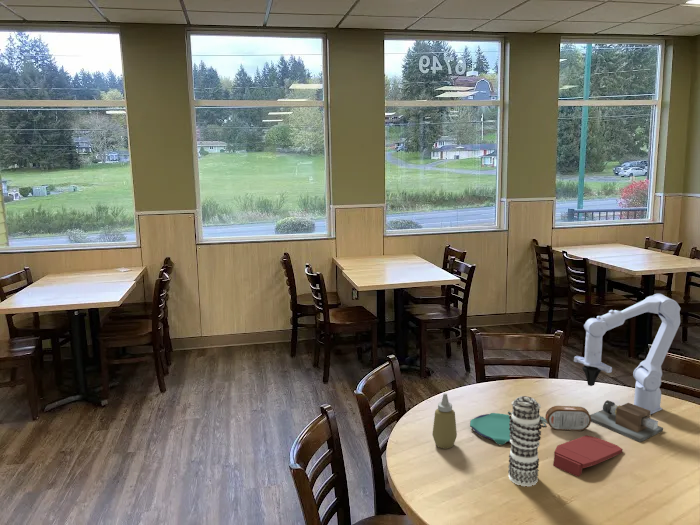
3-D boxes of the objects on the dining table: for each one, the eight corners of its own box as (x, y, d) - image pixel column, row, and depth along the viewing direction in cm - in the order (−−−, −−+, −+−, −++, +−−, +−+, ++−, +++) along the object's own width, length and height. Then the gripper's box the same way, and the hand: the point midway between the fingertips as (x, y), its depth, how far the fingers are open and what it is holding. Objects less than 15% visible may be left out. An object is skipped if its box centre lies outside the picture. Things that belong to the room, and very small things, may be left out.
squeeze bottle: (459, 441, 186) (460, 391, 183) (453, 452, 179) (454, 401, 175) (436, 436, 189) (436, 387, 186) (429, 448, 182) (429, 396, 179)
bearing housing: (609, 409, 207) (610, 391, 206) (662, 430, 191) (664, 411, 189) (586, 419, 200) (587, 400, 199) (639, 442, 183) (641, 422, 182)
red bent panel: (586, 448, 188) (547, 463, 172) (588, 434, 187) (549, 448, 171) (622, 462, 178) (584, 480, 162) (624, 448, 178) (586, 464, 162)
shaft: (609, 410, 202) (610, 399, 201) (658, 429, 187) (659, 417, 186) (602, 413, 200) (603, 401, 199) (651, 433, 184) (652, 421, 184)
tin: (588, 428, 194) (589, 405, 192) (591, 432, 191) (593, 409, 189) (544, 426, 195) (545, 404, 194) (546, 431, 192) (548, 408, 191)
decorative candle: (535, 490, 157) (539, 409, 153) (503, 481, 162) (505, 402, 158) (542, 475, 165) (546, 397, 160) (511, 467, 170) (514, 390, 165)
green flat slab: (458, 426, 197) (459, 420, 196) (518, 408, 211) (519, 402, 211) (499, 451, 180) (500, 445, 179) (561, 429, 194) (562, 423, 194)
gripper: (569, 347, 209) (567, 381, 211) (604, 358, 197) (602, 394, 199) (581, 343, 212) (579, 377, 215) (616, 354, 200) (613, 389, 203)
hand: (591, 385), depth 207 cm, fingers closed
